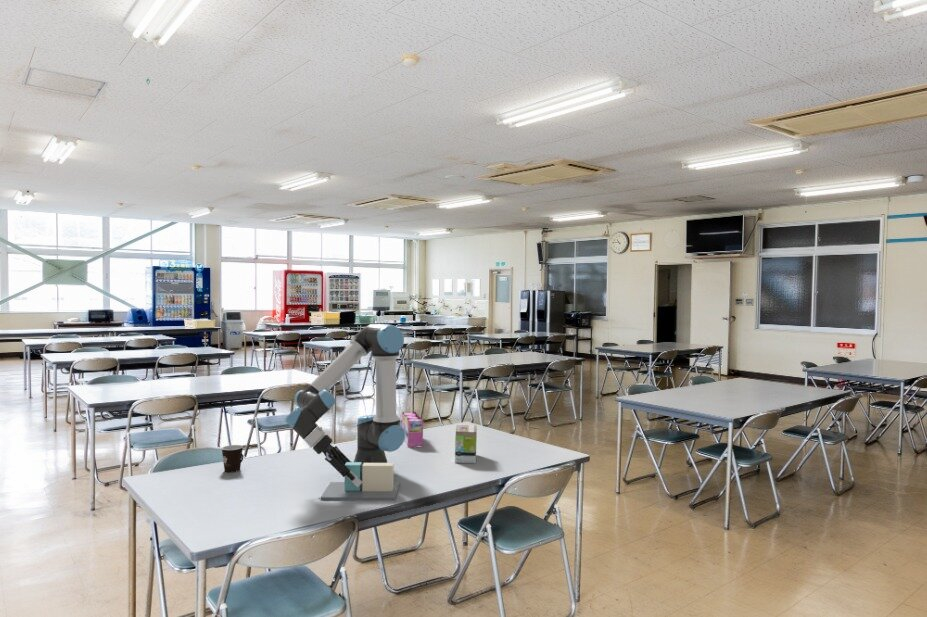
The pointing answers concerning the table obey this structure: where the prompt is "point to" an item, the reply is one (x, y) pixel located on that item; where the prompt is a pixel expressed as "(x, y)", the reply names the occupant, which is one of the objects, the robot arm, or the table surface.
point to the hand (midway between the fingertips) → (361, 482)
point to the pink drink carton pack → (412, 429)
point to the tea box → (465, 444)
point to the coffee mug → (232, 457)
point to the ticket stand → (367, 485)
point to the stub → (357, 470)
